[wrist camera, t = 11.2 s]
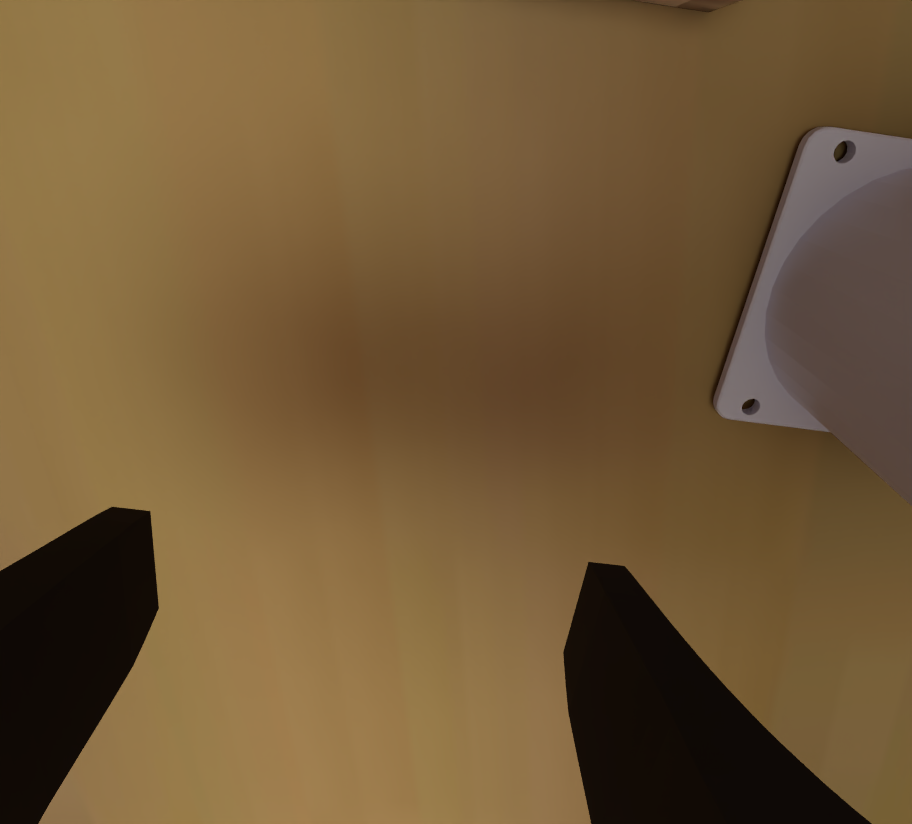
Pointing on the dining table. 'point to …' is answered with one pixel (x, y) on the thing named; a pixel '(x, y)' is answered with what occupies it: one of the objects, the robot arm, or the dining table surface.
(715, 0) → the big crate
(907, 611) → the dining table surface
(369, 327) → the dining table surface
